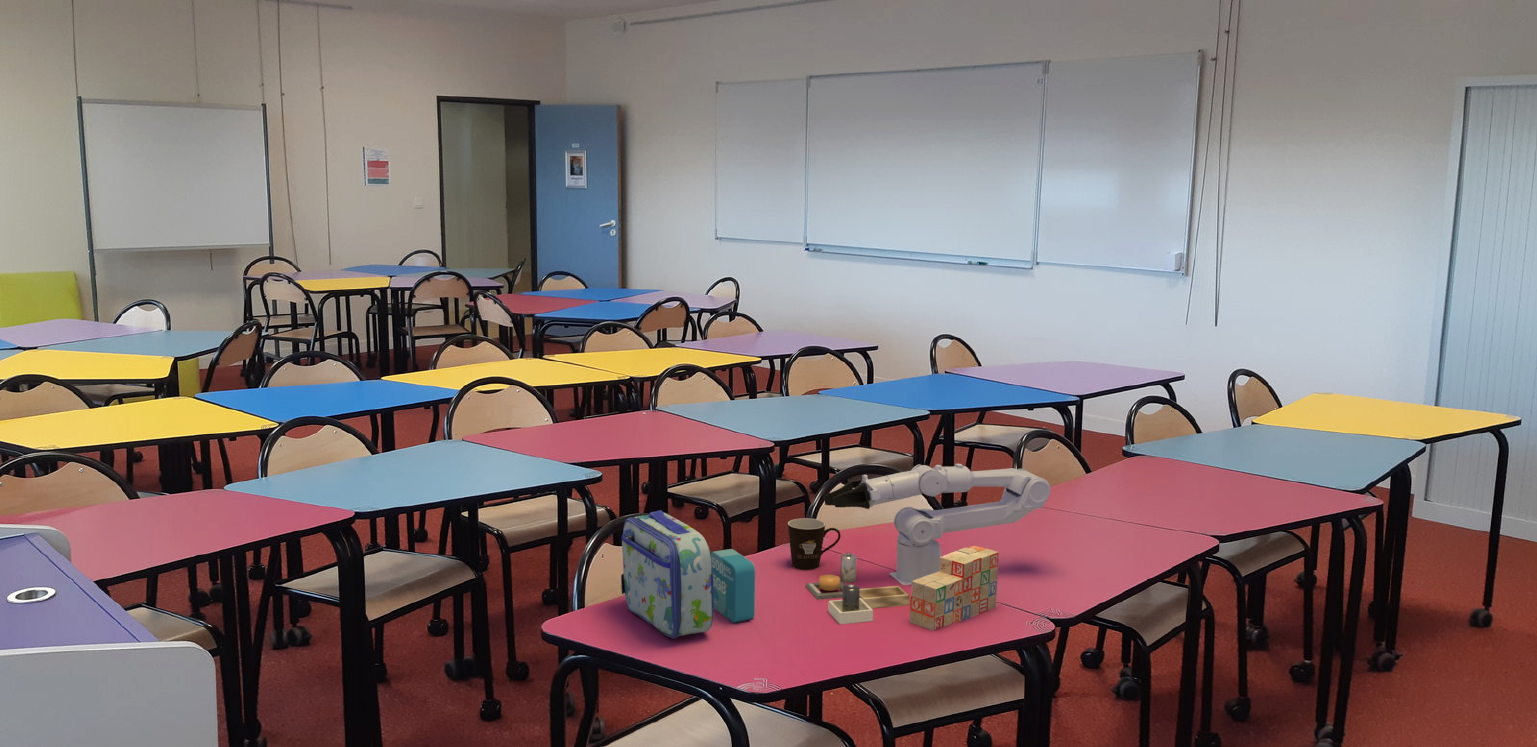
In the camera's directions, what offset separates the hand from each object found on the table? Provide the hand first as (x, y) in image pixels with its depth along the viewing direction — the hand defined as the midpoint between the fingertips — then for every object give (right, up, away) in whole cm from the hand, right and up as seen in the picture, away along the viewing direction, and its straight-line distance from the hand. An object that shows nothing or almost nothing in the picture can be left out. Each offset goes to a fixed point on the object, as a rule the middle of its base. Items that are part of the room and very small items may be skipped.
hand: (829, 501), depth 237 cm
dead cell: (+3, -21, -16) cm, 27 cm away
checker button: (0, -18, -2) cm, 18 cm away
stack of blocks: (+25, -22, -13) cm, 36 cm away
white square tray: (+3, -22, -15) cm, 27 cm away
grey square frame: (0, -20, -2) cm, 20 cm away
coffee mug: (-3, -17, +16) cm, 24 cm away
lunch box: (-34, -22, -18) cm, 44 cm away
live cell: (+4, -19, +6) cm, 20 cm away
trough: (+10, -21, -7) cm, 24 cm away
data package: (-21, -21, -13) cm, 33 cm away
